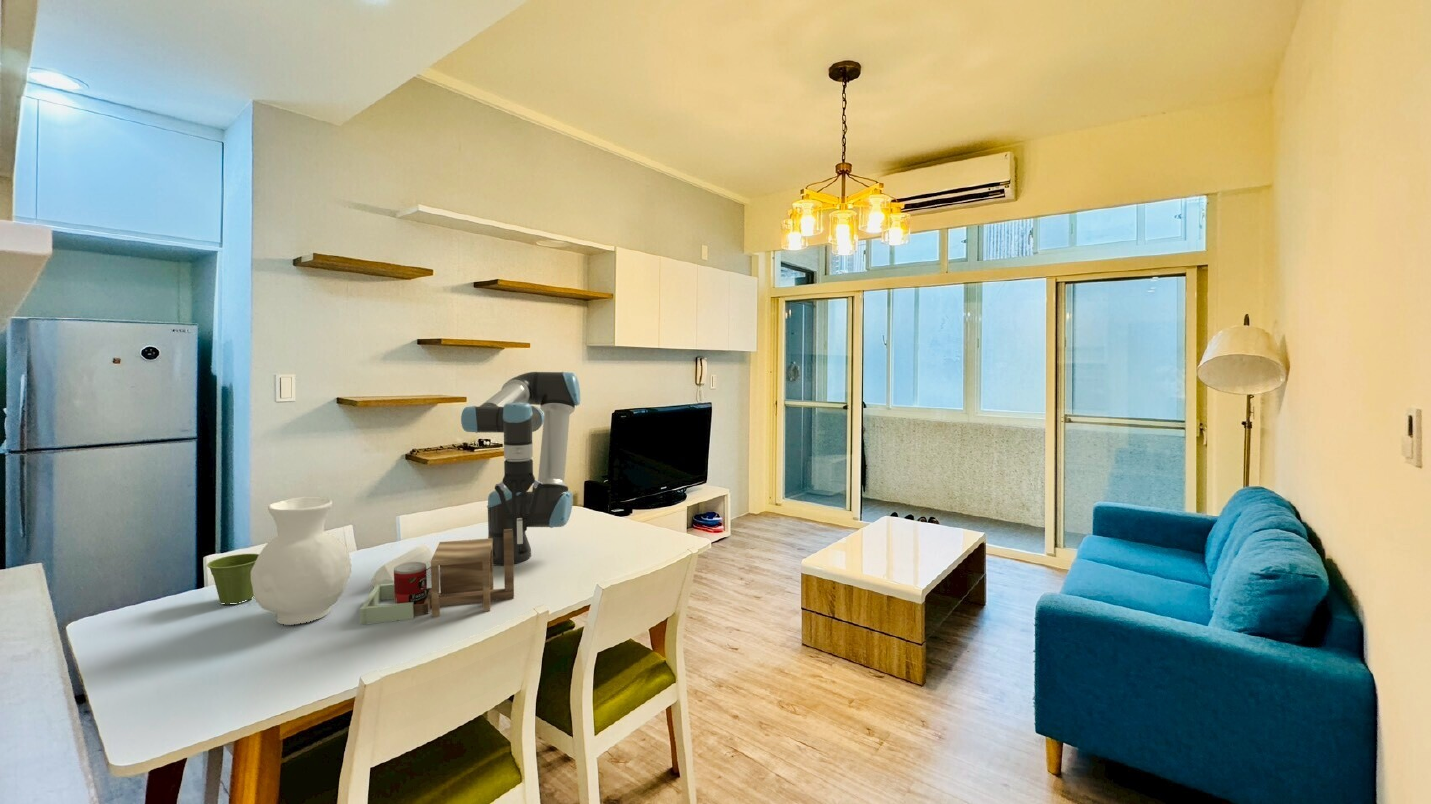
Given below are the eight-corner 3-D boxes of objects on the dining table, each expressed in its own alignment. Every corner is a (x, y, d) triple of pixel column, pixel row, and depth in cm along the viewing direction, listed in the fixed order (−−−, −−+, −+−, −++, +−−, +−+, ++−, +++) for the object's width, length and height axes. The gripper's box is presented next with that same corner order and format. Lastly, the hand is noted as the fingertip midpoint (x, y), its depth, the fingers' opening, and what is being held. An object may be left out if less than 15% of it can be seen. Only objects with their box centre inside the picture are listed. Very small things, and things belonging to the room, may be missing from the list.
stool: (441, 592, 172) (439, 542, 171) (493, 587, 176) (492, 538, 175) (432, 617, 156) (430, 561, 155) (490, 610, 161) (488, 556, 159)
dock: (376, 598, 167) (376, 584, 167) (423, 594, 171) (423, 580, 170) (360, 624, 152) (360, 609, 151) (412, 619, 155) (412, 603, 155)
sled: (398, 599, 167) (396, 532, 165) (514, 588, 176) (513, 524, 174) (389, 618, 156) (386, 545, 154) (513, 605, 164) (512, 536, 163)
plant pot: (274, 596, 168) (272, 556, 167) (224, 613, 157) (222, 570, 156) (249, 589, 173) (247, 550, 172) (199, 604, 162) (197, 563, 161)
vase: (310, 638, 144) (304, 514, 142) (234, 630, 148) (227, 509, 146) (368, 606, 162) (364, 496, 160) (299, 599, 166) (294, 491, 164)
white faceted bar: (412, 550, 197) (360, 577, 173) (429, 540, 196) (380, 566, 172) (423, 570, 197) (373, 600, 173) (441, 560, 196) (393, 589, 172)
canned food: (413, 614, 158) (412, 573, 157) (387, 610, 160) (386, 570, 159) (433, 602, 165) (432, 563, 164) (409, 599, 167) (408, 560, 166)
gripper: (492, 462, 162) (494, 548, 164) (543, 460, 166) (544, 544, 168) (494, 457, 169) (495, 540, 171) (542, 455, 173) (543, 536, 175)
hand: (520, 542), depth 169 cm, fingers closed
